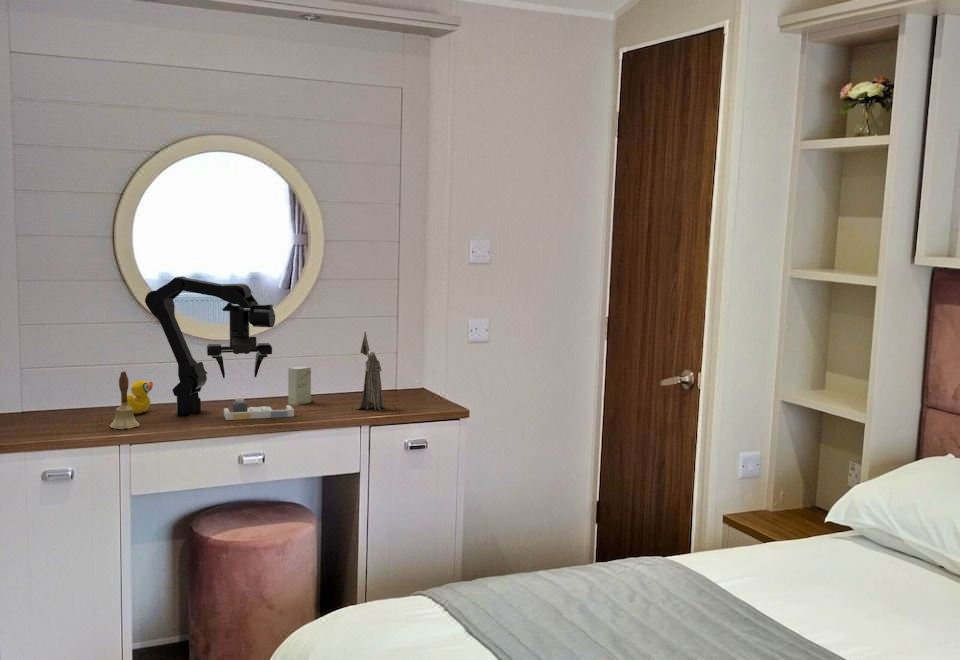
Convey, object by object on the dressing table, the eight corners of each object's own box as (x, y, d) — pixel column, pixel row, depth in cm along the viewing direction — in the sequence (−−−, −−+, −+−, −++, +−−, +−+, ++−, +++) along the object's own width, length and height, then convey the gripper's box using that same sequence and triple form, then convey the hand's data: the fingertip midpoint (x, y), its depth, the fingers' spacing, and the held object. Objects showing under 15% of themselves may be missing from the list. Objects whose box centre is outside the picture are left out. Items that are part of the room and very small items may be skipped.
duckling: (145, 408, 295) (144, 377, 294) (159, 410, 293) (158, 378, 292) (118, 415, 285) (117, 382, 283) (132, 417, 282) (132, 384, 281)
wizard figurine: (358, 413, 295) (358, 333, 292) (350, 407, 303) (350, 330, 300) (389, 410, 300) (390, 332, 297) (380, 405, 307) (381, 329, 304)
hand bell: (145, 426, 271) (144, 371, 269) (118, 431, 265) (116, 375, 263) (131, 422, 276) (129, 368, 274) (103, 426, 270) (102, 371, 268)
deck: (240, 414, 289) (240, 412, 289) (237, 410, 296) (237, 408, 296) (273, 412, 293) (273, 410, 293) (270, 408, 299) (270, 406, 299)
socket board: (227, 424, 276) (227, 415, 276) (223, 416, 286) (223, 408, 286) (295, 420, 283) (295, 412, 283) (290, 413, 293) (290, 405, 293)
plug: (233, 419, 282) (233, 400, 281) (232, 417, 286) (232, 397, 285) (247, 419, 284) (247, 399, 283) (245, 416, 287) (245, 397, 287)
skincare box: (296, 406, 303) (296, 369, 301) (287, 404, 305) (287, 367, 304) (311, 404, 308) (311, 367, 306) (302, 402, 310) (302, 365, 309)
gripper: (208, 329, 273) (209, 383, 275) (274, 329, 279) (274, 381, 281) (206, 325, 283) (206, 376, 285) (269, 324, 290) (269, 375, 291)
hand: (239, 377), depth 285 cm, fingers open, 9 cm apart
